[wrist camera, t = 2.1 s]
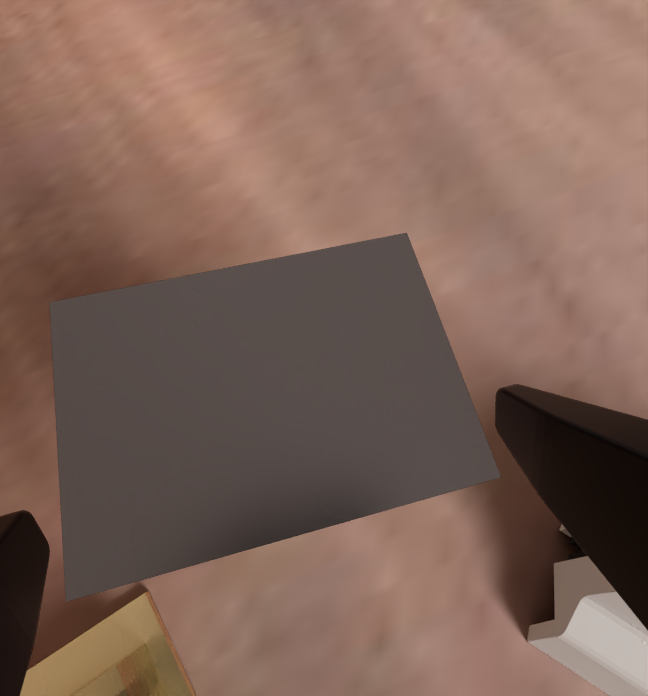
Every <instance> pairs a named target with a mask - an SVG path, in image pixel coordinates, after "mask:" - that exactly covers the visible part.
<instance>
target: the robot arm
mask: <svg viewBox="0 0 648 696" xmlns="http://www.w3.org/2000/svg"><path fill="white" fill-rule="evenodd" d="M495 426H496V429H497V432H498V434H499V435H500V437H501V438H502V440H503V442H504V443H505V445H506V446H507V448H508V449H509V451H510V452H511V454H512V455H513V457H514V459H515V460H516V462H517V463H518V465H519V466H520V468H521V469H522V471H523V472H524V474H525V475H526V477H527V479H528V480H529V482H530V483H531V485H532V486H533V488H534V489H535V490H536V492H537V493H538V495H539V496H540V497H541V499H542V500H543V501H544V503H545V504H546V505H547V506H548V508H549V509H550V510H551V511H552V513H553V514H554V515H555V516H556V518H557V519H558V520H559V521H560V522H561V524H562V525H563V526H564V527H565V529H566V530H567V531H568V532H569V534H570V535H571V536H572V537H573V539H574V540H575V541H576V542H577V544H578V545H579V546H580V547H581V549H582V550H583V551H584V552H585V554H586V555H587V556H588V557H589V558H590V560H591V561H592V562H593V563H594V565H595V566H596V567H597V568H598V570H599V571H600V572H601V573H602V575H603V576H604V577H605V578H606V580H607V581H608V582H609V583H610V585H611V586H612V587H613V588H614V589H615V591H616V592H617V593H618V594H619V596H620V597H621V598H622V599H623V601H624V602H625V603H626V604H627V606H628V607H629V608H630V609H631V611H632V612H633V613H634V614H635V616H636V617H637V618H638V619H639V621H640V622H641V623H642V624H643V625H644V627H645V628H646V629H647V630H648V420H647V419H643V418H640V417H636V416H632V415H629V414H625V413H621V412H618V411H614V410H610V409H607V408H603V407H599V406H596V405H592V404H589V403H585V402H581V401H578V400H574V399H570V398H567V397H563V396H559V395H556V394H552V393H548V392H545V391H541V390H537V389H534V388H530V387H527V386H523V385H519V384H514V385H510V386H506V387H503V388H500V389H499V390H498V391H497V393H496V402H495ZM49 555H50V549H49V544H48V542H47V540H46V538H45V536H44V534H43V533H42V531H41V529H40V527H39V526H38V524H37V522H36V521H35V519H34V517H33V516H32V514H31V513H30V512H28V511H25V510H22V511H18V512H14V513H10V514H6V515H3V516H0V696H20V693H21V690H22V686H23V683H24V679H25V676H26V672H27V668H28V665H29V661H30V658H31V654H32V650H33V646H34V642H35V637H36V632H37V627H38V621H39V615H40V609H41V603H42V597H43V591H44V586H45V580H46V574H47V568H48V562H49Z"/></svg>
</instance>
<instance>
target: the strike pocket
mask: <svg viewBox="0 0 648 696" xmlns="http://www.w3.org/2000/svg"><path fill="white" fill-rule="evenodd" d="M20 696H196V694H195V692H194V690H193V687H192V685H191V683H190V681H189V679H188V676H187V674H186V672H185V670H184V668H183V665H182V663H181V661H180V659H179V657H178V655H177V652H176V650H175V648H174V646H173V644H172V641H171V639H170V637H169V635H168V633H167V630H166V628H165V626H164V624H163V622H162V619H161V617H160V615H159V613H158V611H157V608H156V606H155V604H154V602H153V600H152V598H151V595H150V593H149V591H148V592H146V593H144V594H142V595H141V596H139V597H138V598H136V599H135V600H133V601H132V602H130V603H129V604H127V605H126V606H124V607H123V608H121V609H120V610H118V611H117V612H115V613H114V614H112V615H111V616H109V617H108V618H106V619H105V620H103V621H101V622H100V623H98V624H97V625H95V626H94V627H92V628H91V629H89V630H88V631H86V632H85V633H83V634H82V635H80V636H79V637H77V638H76V639H74V640H73V641H71V642H70V643H68V644H67V645H65V646H64V647H62V648H61V649H59V650H58V651H56V652H55V653H53V654H52V655H50V656H49V657H47V658H46V659H44V660H43V661H41V662H40V663H38V664H37V665H35V666H33V667H32V668H30V669H29V670H27V672H26V676H25V679H24V683H23V686H22V690H21V693H20Z"/></svg>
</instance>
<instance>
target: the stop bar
mask: <svg viewBox="0 0 648 696" xmlns="http://www.w3.org/2000/svg"><path fill="white" fill-rule="evenodd" d="M50 320H51V338H52V357H53V375H54V393H55V412H56V430H57V449H58V467H59V485H60V504H61V522H62V540H63V559H64V577H65V595H66V602H67V601H70V600H74V599H77V598H81V597H84V596H88V595H91V594H95V593H98V592H102V591H105V590H109V589H112V588H116V587H119V586H123V585H126V584H130V583H133V582H137V581H140V580H144V579H147V578H151V577H154V576H158V575H161V574H165V573H168V572H172V571H175V570H179V569H182V568H186V567H189V566H193V565H196V564H200V563H203V562H207V561H210V560H214V559H217V558H221V557H224V556H228V555H231V554H235V553H238V552H242V551H245V550H249V549H252V548H256V547H259V546H263V545H266V544H270V543H273V542H277V541H280V540H284V539H287V538H291V537H294V536H298V535H301V534H305V533H308V532H312V531H315V530H319V529H322V528H326V527H329V526H333V525H336V524H340V523H343V522H347V521H350V520H354V519H357V518H361V517H364V516H368V515H371V514H375V513H378V512H382V511H385V510H389V509H392V508H396V507H399V506H403V505H406V504H410V503H413V502H417V501H420V500H424V499H427V498H431V497H434V496H438V495H441V494H445V493H448V492H452V491H455V490H459V489H463V488H466V487H470V486H473V485H477V484H480V483H484V482H487V481H491V480H494V479H498V478H501V475H500V473H499V470H498V467H497V465H496V462H495V460H494V457H493V454H492V452H491V449H490V447H489V444H488V442H487V439H486V436H485V434H484V431H483V429H482V426H481V423H480V421H479V418H478V416H477V413H476V411H475V408H474V405H473V403H472V400H471V398H470V395H469V392H468V390H467V387H466V385H465V382H464V379H463V377H462V374H461V372H460V369H459V367H458V364H457V361H456V359H455V356H454V354H453V351H452V348H451V346H450V343H449V341H448V338H447V336H446V333H445V330H444V328H443V325H442V323H441V320H440V317H439V315H438V312H437V310H436V307H435V304H434V302H433V299H432V297H431V294H430V292H429V289H428V286H427V284H426V281H425V279H424V276H423V273H422V271H421V268H420V266H419V263H418V260H417V258H416V255H415V253H414V250H413V248H412V245H411V242H410V240H409V237H408V235H407V233H403V234H398V235H393V236H388V237H382V238H377V239H372V240H367V241H362V242H357V243H352V244H347V245H341V246H336V247H331V248H326V249H321V250H316V251H311V252H306V253H300V254H295V255H290V256H285V257H280V258H275V259H270V260H265V261H259V262H254V263H249V264H244V265H239V266H234V267H229V268H223V269H218V270H213V271H208V272H203V273H198V274H193V275H188V276H182V277H177V278H172V279H167V280H162V281H157V282H152V283H147V284H141V285H136V286H131V287H126V288H121V289H116V290H111V291H106V292H100V293H95V294H90V295H85V296H80V297H75V298H70V299H65V300H59V301H54V302H50Z"/></svg>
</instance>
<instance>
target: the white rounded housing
mask: <svg viewBox="0 0 648 696" xmlns="http://www.w3.org/2000/svg"><path fill="white" fill-rule="evenodd" d="M559 530H560V531H561V532H563V533H564V534H566V535H568V536H569V537H571V544H573V545H574V546H576V547H577V548H579V549H581V547H580V546H579V545H578V544H577V542H576V541H575V540H574V539H573V537H572V536H571V535H570V534H569V532H568V531H567V530H566V529H565V527H564V526H563V525H561V527H560V529H559ZM581 550H582V549H581ZM582 551H583V550H582ZM554 602H555V619H554V620H551V621H547V622H542V623H538V624H534V625H530V626H529V632H528V637H527V642H529V643H530V644H532V645H533V646H535V647H536V648H538V649H539V650H541V651H542V652H544V653H545V654H547V655H549V656H550V657H552V658H553V659H555V660H556V661H558V662H559V663H561V664H562V665H564V666H565V667H567V668H568V669H570V670H571V671H573V672H574V673H576V674H577V675H579V676H580V677H582V678H583V679H585V680H587V681H588V682H590V683H591V684H593V685H594V686H596V687H597V688H599V689H600V690H602V691H603V692H605V693H606V694H608V695H609V696H648V630H647V629H646V628H645V627H644V625H643V624H642V623H641V622H640V621H639V619H638V618H637V617H636V616H635V614H634V613H633V612H632V611H631V609H630V608H629V607H628V606H627V604H626V603H625V602H624V601H623V599H622V598H621V597H620V596H619V594H618V593H617V592H616V591H615V589H614V588H613V587H612V586H611V585H610V583H609V582H608V581H607V580H606V578H605V577H604V576H603V575H602V573H601V572H600V571H599V570H598V568H597V567H596V566H595V565H594V563H593V562H592V561H591V560H590V558H589V557H588V556H587V555H586V554H585V552H580V553H575V554H571V555H569V557H568V560H567V561H562V562H557V563H554Z"/></svg>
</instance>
